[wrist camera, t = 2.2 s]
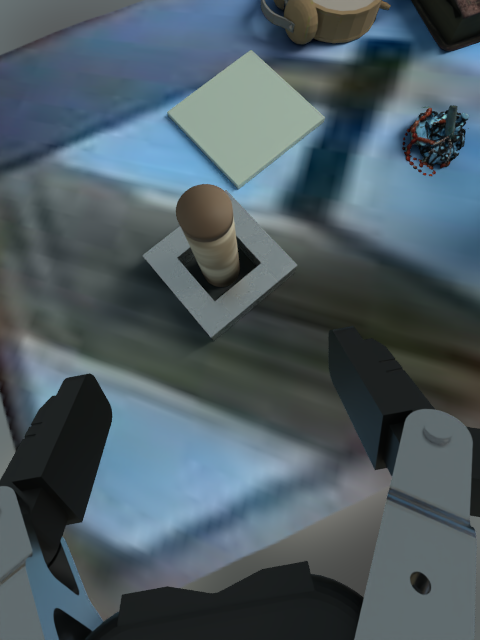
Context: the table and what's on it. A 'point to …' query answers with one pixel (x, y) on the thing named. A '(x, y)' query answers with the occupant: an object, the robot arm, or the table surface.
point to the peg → (210, 232)
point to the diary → (451, 21)
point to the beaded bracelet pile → (437, 137)
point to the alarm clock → (325, 18)
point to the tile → (245, 118)
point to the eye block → (244, 294)
